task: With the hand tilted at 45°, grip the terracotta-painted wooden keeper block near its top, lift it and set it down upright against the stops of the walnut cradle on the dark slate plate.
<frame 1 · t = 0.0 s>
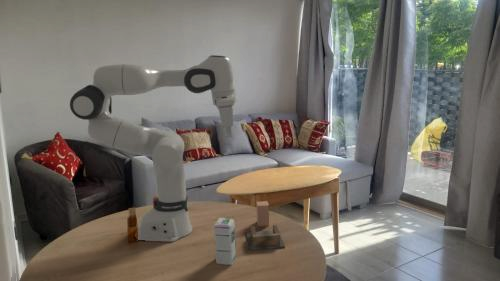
hand: (229, 134, 149), 39 cm above the table, tool pointing down, fingers open, 8 cm apart
syrup box: (226, 260, 133), on the table
keeper block: (262, 223, 161), on the table
stop cradle: (265, 241, 146), on the table
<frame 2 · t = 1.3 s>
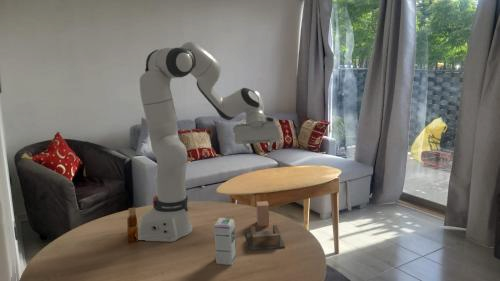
hand: (259, 150, 166), 28 cm above the table, tool tilted 45°, fingers open, 8 cm apart
nothing on the table moved.
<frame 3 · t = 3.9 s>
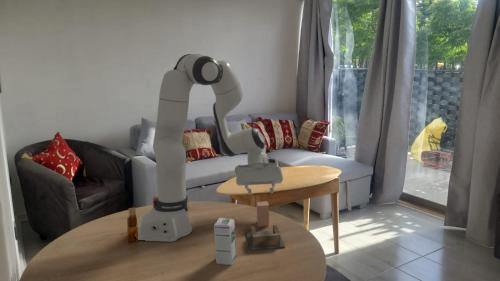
hand: (260, 193, 164), 11 cm above the table, tool tilted 45°, fingers open, 8 cm apart
nothing on the table moved.
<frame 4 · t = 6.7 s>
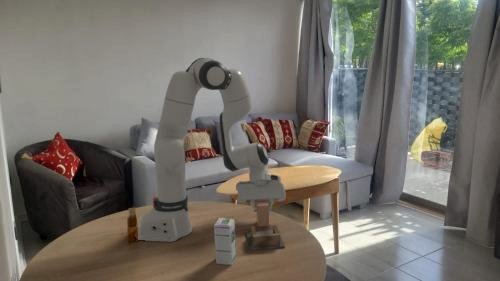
hand: (262, 211, 159), 6 cm above the table, tool tilted 45°, fingers closed on keeper block, 4 cm apart
keeper block: (262, 223, 161), on the table, touching gripper
everything else where it was.
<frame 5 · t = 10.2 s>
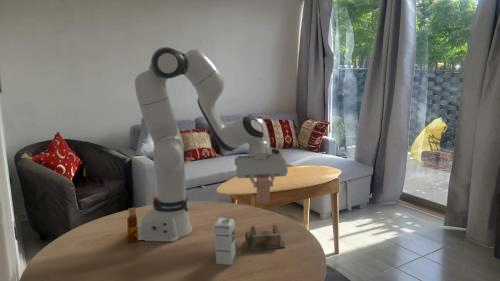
hand: (263, 186, 149), 19 cm above the table, tool tilted 45°, fingers closed on keeper block, 4 cm apart
keeper block: (263, 200, 151), point 13 cm above the table, touching gripper
everything else where it was.
when the fingers open (8 cm above the table, at t = 13.9 s): keeper block drops 1 cm, resting on stop cradle.
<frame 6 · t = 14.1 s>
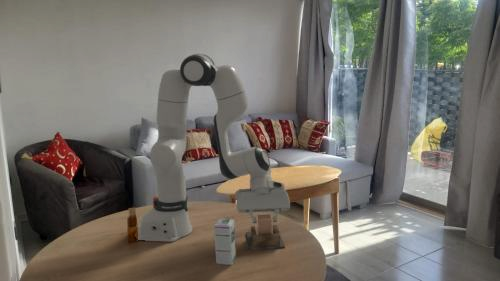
hand: (264, 222, 144), 8 cm above the table, tool tilted 45°, fingers open, 6 cm apart
keeper block: (264, 239, 146), point 1 cm above the table, touching stop cradle
everything else where it was.
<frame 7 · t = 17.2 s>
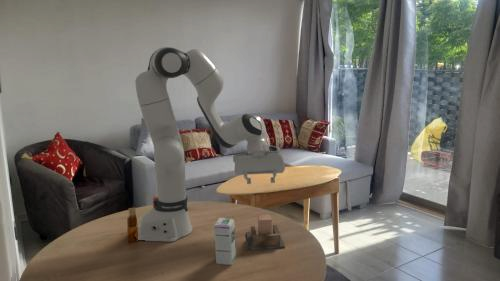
hand: (260, 182, 152), 19 cm above the table, tool tilted 45°, fingers open, 8 cm apart
nothing on the table moved.
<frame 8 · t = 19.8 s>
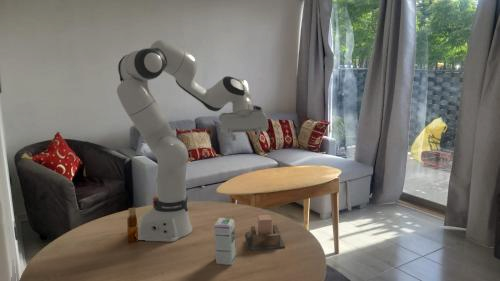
hand: (245, 139, 160), 34 cm above the table, tool tilted 45°, fingers open, 8 cm apart
nothing on the table moved.
at the end: keeper block 0.0 cm off-centre on the stop cradle, point 0.6 cm above the stop cradle's base; keeper block tilted 0°; the gripper is holding nothing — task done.
